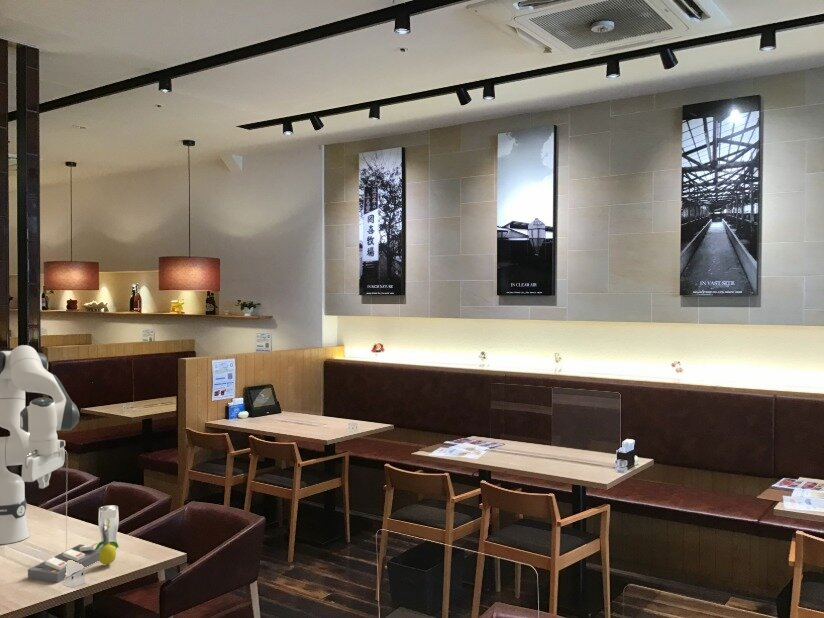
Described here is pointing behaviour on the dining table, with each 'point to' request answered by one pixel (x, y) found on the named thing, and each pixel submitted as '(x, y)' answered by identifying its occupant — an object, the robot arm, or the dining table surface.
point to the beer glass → (108, 523)
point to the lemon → (107, 552)
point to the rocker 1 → (56, 563)
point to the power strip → (55, 575)
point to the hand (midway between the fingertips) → (43, 487)
